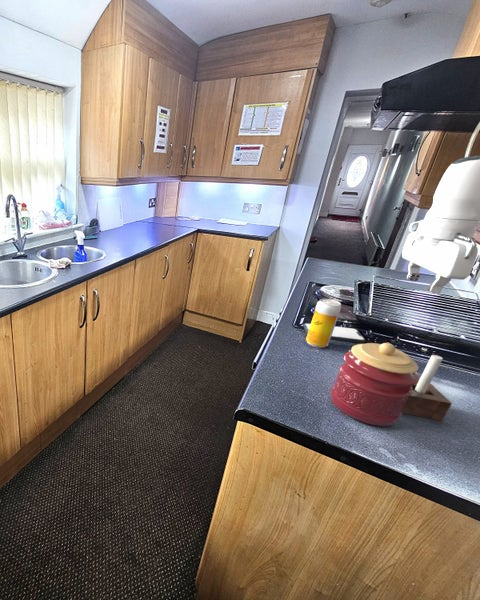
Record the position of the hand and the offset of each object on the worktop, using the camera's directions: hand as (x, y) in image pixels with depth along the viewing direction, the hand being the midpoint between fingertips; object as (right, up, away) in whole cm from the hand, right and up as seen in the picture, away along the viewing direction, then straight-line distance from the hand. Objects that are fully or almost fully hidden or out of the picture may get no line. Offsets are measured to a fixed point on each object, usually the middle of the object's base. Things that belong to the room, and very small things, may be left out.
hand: (421, 285), depth 81 cm
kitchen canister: (-18, -29, -3) cm, 35 cm away
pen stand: (-5, -29, -2) cm, 30 cm away
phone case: (+1, -16, +31) cm, 35 cm away
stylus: (-5, -29, -2) cm, 30 cm away
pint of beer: (-8, -18, +25) cm, 32 cm away
